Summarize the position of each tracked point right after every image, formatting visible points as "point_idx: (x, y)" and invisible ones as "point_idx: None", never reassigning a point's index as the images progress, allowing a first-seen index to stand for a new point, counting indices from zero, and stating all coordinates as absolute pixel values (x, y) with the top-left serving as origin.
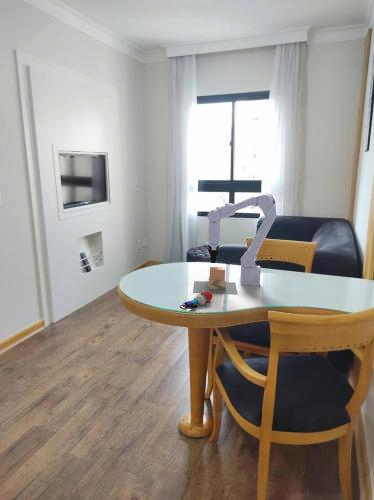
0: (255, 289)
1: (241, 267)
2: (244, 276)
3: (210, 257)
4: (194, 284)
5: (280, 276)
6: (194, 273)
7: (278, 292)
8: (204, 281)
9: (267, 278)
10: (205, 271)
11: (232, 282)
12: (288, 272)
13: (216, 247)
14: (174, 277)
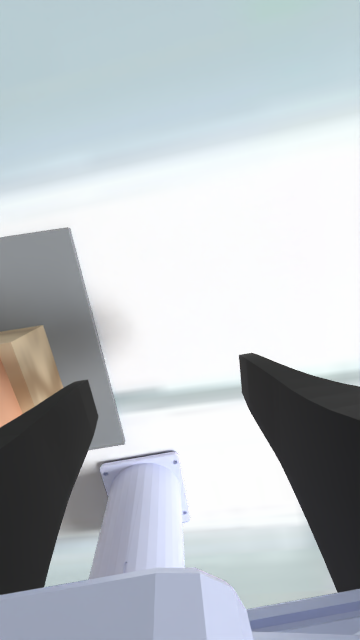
0: (74, 517)
1: (111, 565)
2: (103, 521)
3: (18, 417)
4: (1, 242)
5: (266, 575)
6: (240, 195)
7: (73, 581)
8: (83, 293)
9: (230, 541)
10: (293, 263)
11: (120, 432)
12: (320, 592)
13: (330, 546)
14: (112, 45)
